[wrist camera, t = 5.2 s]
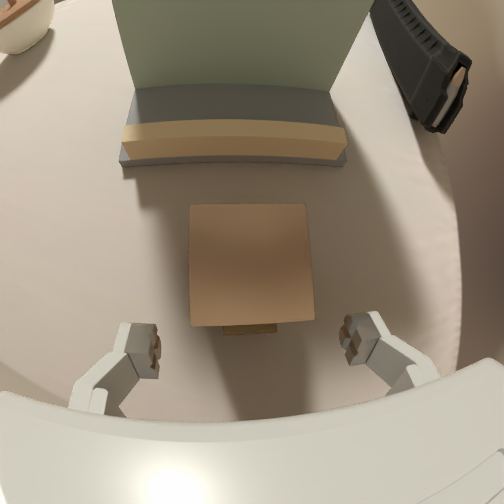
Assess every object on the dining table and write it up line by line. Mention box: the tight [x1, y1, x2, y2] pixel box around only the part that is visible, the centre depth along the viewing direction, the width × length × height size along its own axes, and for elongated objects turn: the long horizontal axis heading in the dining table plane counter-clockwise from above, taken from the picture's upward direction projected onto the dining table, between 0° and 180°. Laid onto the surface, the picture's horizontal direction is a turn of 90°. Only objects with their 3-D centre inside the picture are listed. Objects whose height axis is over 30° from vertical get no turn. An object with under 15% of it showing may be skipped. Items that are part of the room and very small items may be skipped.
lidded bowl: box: [0, 0, 54, 55], centre depth 18 cm, size 13×13×11 cm
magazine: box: [369, 0, 472, 134], centre depth 23 cm, size 17×3×30 cm
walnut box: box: [189, 203, 315, 335], centre depth 15 cm, size 6×5×8 cm
